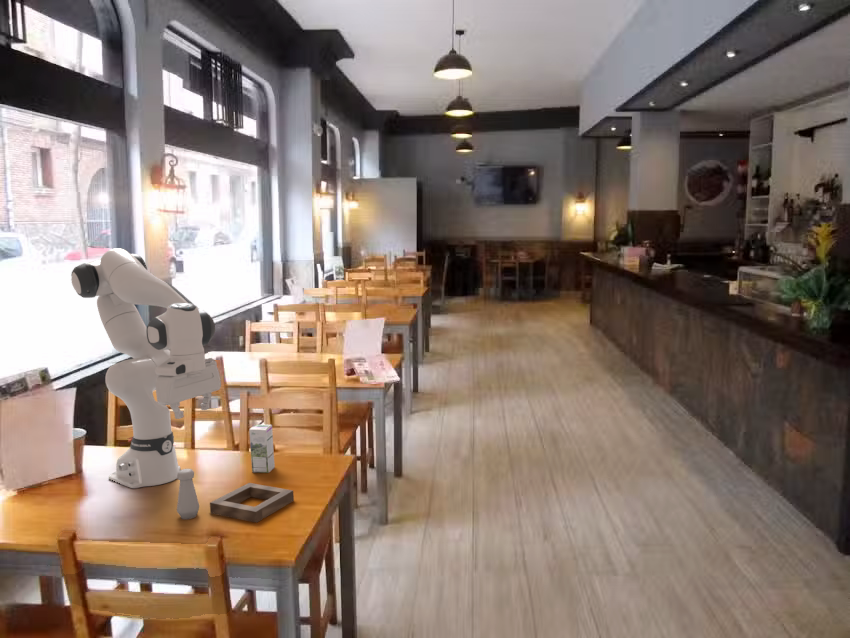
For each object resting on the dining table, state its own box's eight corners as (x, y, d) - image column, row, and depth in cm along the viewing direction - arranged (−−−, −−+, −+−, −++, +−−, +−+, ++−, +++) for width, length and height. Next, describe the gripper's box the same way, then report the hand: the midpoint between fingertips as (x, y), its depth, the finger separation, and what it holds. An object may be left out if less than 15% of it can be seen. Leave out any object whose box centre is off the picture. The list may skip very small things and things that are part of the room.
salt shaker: (192, 521, 182) (189, 474, 181) (173, 520, 183) (169, 473, 182) (203, 512, 188) (200, 466, 186) (184, 511, 189) (181, 466, 187)
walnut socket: (210, 513, 187) (209, 502, 187) (249, 492, 202) (249, 482, 201) (256, 522, 180) (255, 511, 180) (293, 500, 194) (293, 490, 194)
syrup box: (275, 467, 223) (272, 423, 221) (268, 473, 217) (265, 429, 215) (258, 466, 224) (255, 423, 222) (251, 473, 218) (248, 428, 216)
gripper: (207, 356, 195) (211, 404, 196) (149, 370, 177) (154, 422, 178) (224, 357, 192) (228, 405, 194) (167, 371, 174) (172, 424, 175)
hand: (192, 413), depth 186 cm, fingers open, 8 cm apart
